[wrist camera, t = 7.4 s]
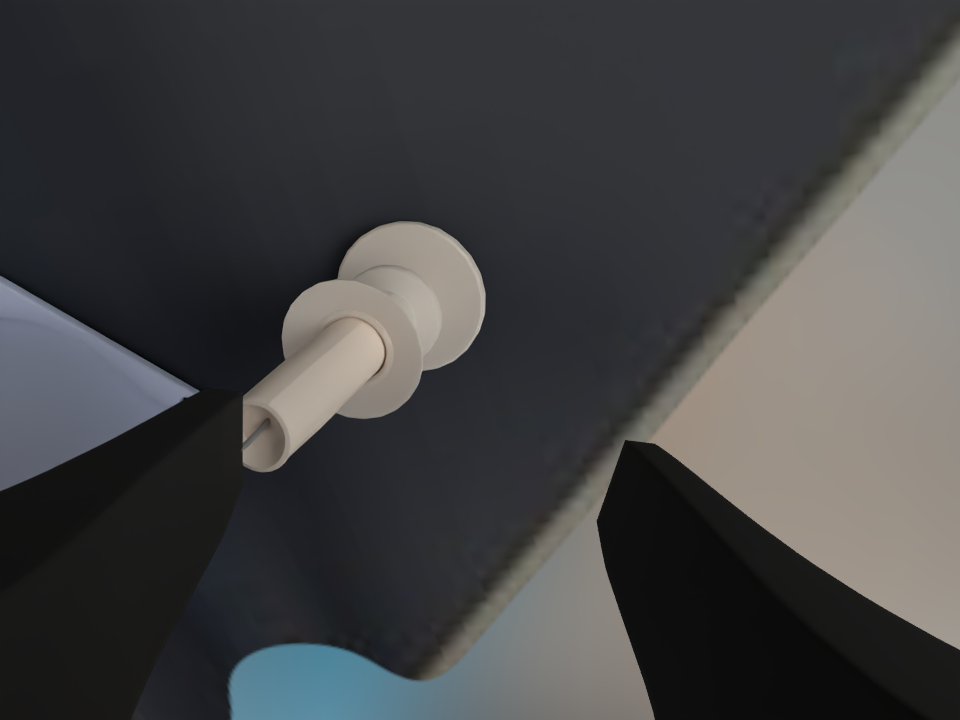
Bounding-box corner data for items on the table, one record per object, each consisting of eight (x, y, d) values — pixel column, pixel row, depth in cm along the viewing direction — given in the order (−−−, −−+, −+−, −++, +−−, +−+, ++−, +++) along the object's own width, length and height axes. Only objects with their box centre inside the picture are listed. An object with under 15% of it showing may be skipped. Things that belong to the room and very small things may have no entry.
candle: (317, 250, 19) (53, 363, 10) (452, 197, 18) (289, 272, 8) (378, 382, 21) (200, 587, 12) (508, 343, 19) (423, 544, 10)
